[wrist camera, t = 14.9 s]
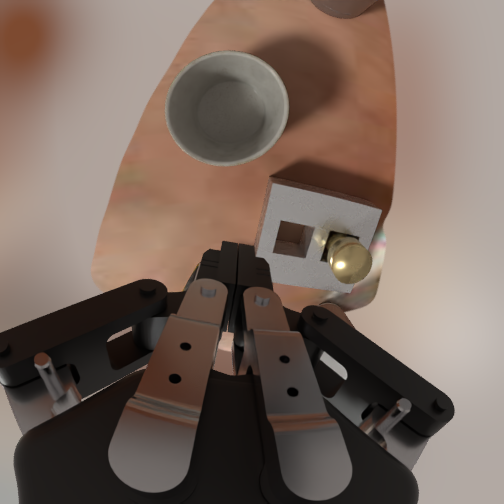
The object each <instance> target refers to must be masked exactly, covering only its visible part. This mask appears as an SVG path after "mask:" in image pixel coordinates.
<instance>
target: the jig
mask: <svg viewBox="0 0 504 504" xmlns="http://www.w3.org/2000/svg"><path fill="white" fill-rule="evenodd" d="M381 212H382V210H381V209H380V208H378V207H377V206H376V205H374V204H373V203H371V202H370V201H368V200H365V199H362V198H358V197H354V196H351V195H347V194H343V193H340V192H336V191H332V190H328V189H324V188H320V187H316V186H312V185H307V184H303V183H299V182H294V181H290V180H285V179H280V178H276V177H271V176H269V180H268V185H267V189H266V194H265V198H264V203H263V207H262V212H261V216H260V221H259V225H258V230H257V234H256V239H255V243H254V247H255V257H261V258H264V259H265V260H266V261H267V262H268V263H269V266H270V272H271V278H272V282H274V283H281V284H287V285H294V286H301V287H308V288H315V289H322V290H330V291H337V292H345V293H351V291H352V288H353V286H354V284H355V283H354V284H344V283H341V282H340V281H338V280H337V279H336V277H335V275H334V273H333V272H332V270H331V268H330V266H329V264H328V261H327V255H328V250H327V249H324V247H325V244H326V241H327V238H328V235H329V232H330V230H331V231H336V232H340V233H345V235H346V236H347V237H352V238H355V239H357V240H359V241H360V242H361V243H362V245H363V246H364V247H365V248H366V249H367V250H368V249H369V246H370V243H371V241H372V238H373V235H374V232H375V230H376V227H377V224H378V221H379V218H380V215H381ZM281 220H282V221H287V222H292V223H297V224H302V225H305V226H304V229H303V233H302V236H301V240H300V243H299V244H297V243H292V242H286V241H280V240H276V237H277V233H278V229H279V225H280V221H281Z"/></svg>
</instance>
